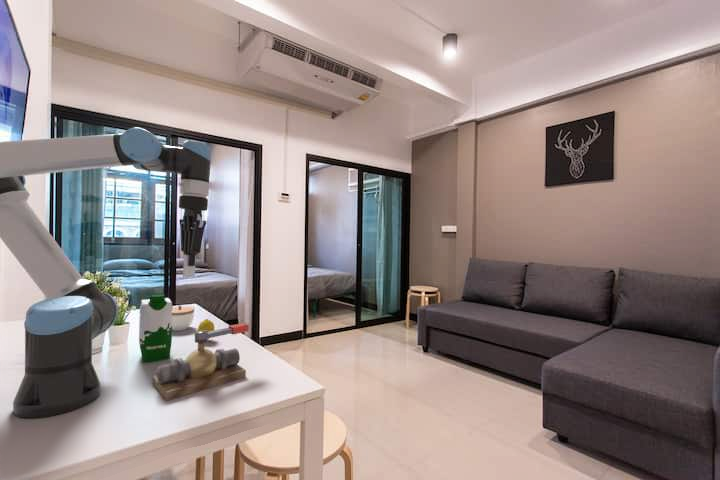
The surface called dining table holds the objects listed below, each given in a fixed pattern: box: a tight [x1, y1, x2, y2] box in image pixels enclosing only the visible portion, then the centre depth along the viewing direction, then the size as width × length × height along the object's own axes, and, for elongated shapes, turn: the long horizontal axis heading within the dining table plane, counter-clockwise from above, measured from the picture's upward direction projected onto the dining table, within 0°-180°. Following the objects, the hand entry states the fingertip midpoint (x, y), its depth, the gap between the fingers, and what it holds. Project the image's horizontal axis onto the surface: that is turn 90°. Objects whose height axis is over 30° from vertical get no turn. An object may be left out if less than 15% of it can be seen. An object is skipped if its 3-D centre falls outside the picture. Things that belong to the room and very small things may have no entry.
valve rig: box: [151, 342, 247, 401], centre depth 92 cm, size 20×12×10 cm, turn 136°
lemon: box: [197, 318, 215, 340], centre depth 124 cm, size 6×6×8 cm
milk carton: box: [138, 293, 173, 364], centre depth 107 cm, size 9×9×20 cm
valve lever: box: [194, 322, 250, 344], centre depth 96 cm, size 15×3×2 cm, turn 140°
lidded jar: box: [172, 304, 195, 332], centre depth 138 cm, size 11×11×9 cm
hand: (188, 276), depth 99 cm, fingers closed
